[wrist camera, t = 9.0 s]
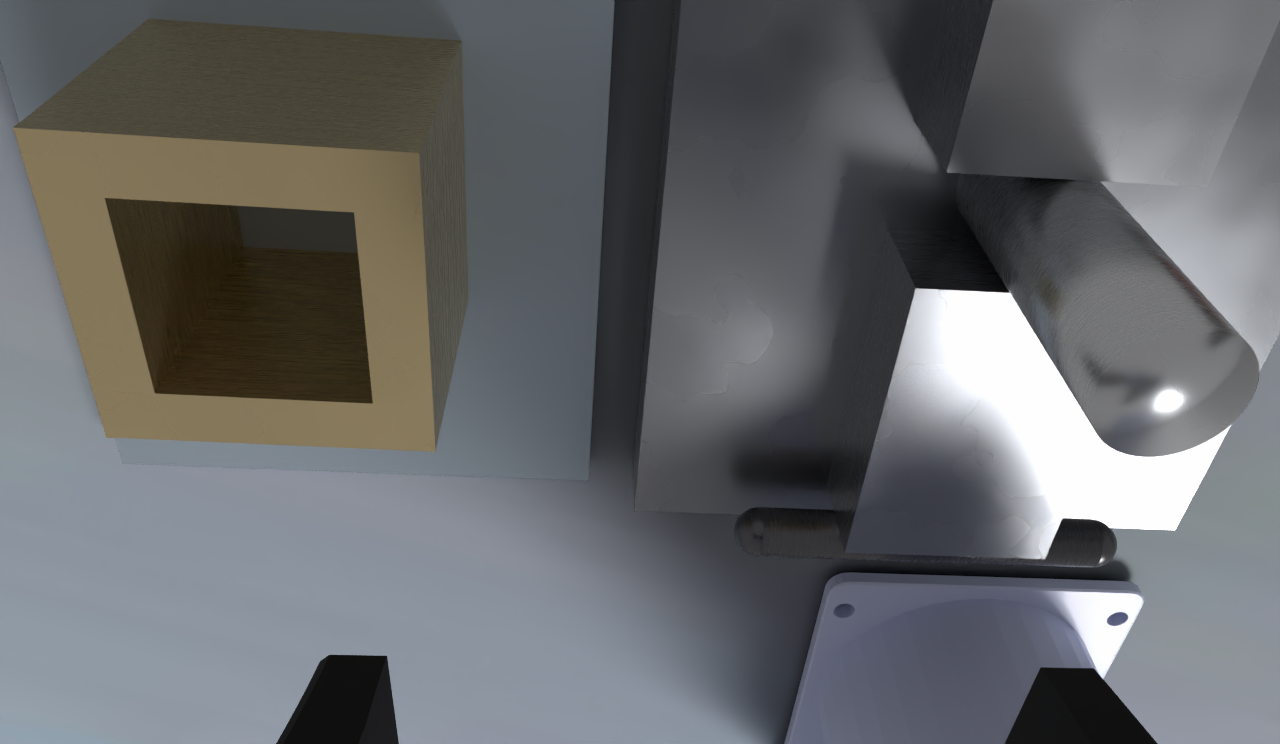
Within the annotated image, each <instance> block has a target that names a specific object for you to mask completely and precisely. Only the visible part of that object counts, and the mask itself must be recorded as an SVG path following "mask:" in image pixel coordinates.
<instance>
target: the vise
mask: <svg viewBox="0 0 1280 744" xmlns="http://www.w3.org/2000/svg"><path fill="white" fill-rule="evenodd" d="M1279 334H1280V0H674V7H673V18H672V29H671V41H670V52H669V63H668V75H667V86H666V97H665V109H664V120H663V132H662V143H661V154H660V166H659V177H658V188H657V200H656V211H655V223H654V234H653V245H652V257H651V268H650V279H649V291H648V302H647V313H646V325H645V336H644V348H643V359H642V370H641V382H640V393H639V404H638V416H637V427H636V438H635V450H634V461H633V477H634V511H647V512H675V513H703V514H732V515H740V516H739V518H738V519H737V521H736V524H735V528H734V535H735V539H736V541H737V543H738V545H739V546H740V548H741V549H742V550H743V551H745V552H746V553H748V554H750V555H753V556H759V557H789V558H820V559H850V560H881V561H911V562H942V563H973V564H1003V565H1034V566H1064V567H1099V566H1103V565H1104V564H1106V563H1108V562H1109V561H1110V560H1111V559H1112V558H1113V556H1114V555H1115V553H1116V549H1117V541H1116V537H1115V534H1114V533H1113V531H1112V530H1111V529H1110V528H1130V529H1158V530H1175V529H1176V527H1177V526H1178V524H1179V522H1180V520H1181V518H1182V516H1183V514H1184V512H1185V511H1186V509H1187V507H1188V505H1189V503H1190V501H1191V499H1192V497H1193V496H1194V494H1195V492H1196V490H1197V488H1198V486H1199V484H1200V482H1201V480H1202V479H1203V477H1204V475H1205V473H1206V471H1207V469H1208V467H1209V465H1210V464H1211V462H1212V460H1213V458H1214V456H1215V454H1216V452H1217V450H1218V448H1219V447H1220V445H1221V443H1222V441H1223V439H1224V437H1225V435H1226V433H1227V432H1228V430H1229V428H1230V426H1231V424H1232V423H1233V422H1234V421H1235V420H1236V419H1237V418H1238V417H1239V416H1240V415H1241V414H1242V413H1243V411H1244V410H1245V409H1246V407H1247V406H1248V404H1249V403H1250V401H1251V400H1252V398H1253V395H1254V393H1255V391H1256V388H1257V385H1258V381H1259V371H1260V369H1261V368H1262V366H1263V364H1264V362H1265V360H1266V358H1267V356H1268V354H1269V353H1270V351H1271V349H1272V347H1273V345H1274V343H1275V341H1276V339H1277V338H1278V336H1279Z"/></svg>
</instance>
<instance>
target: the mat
mask: <svg viewBox="0 0 1280 744" xmlns="http://www.w3.org/2000/svg"><path fill="white" fill-rule="evenodd" d="M614 2H615V0H0V61H1V64H2V68H3V71H4V74H5V78H6V81H7V84H8V87H9V91H10V94H11V97H12V101H13V104H14V107H15V110H16V114H17V117H18V120H19V123H20V122H21V121H22V120H23V119H25V118H26V117H27V116H28V115H30V114H31V113H32V112H33V111H35V110H36V109H37V108H38V107H39V106H41V105H42V104H43V103H44V102H46V101H47V100H48V99H49V98H51V97H52V96H53V95H54V94H56V93H57V92H58V91H59V90H60V89H62V88H63V87H64V86H65V85H67V84H68V83H69V82H70V81H72V80H73V79H74V78H75V77H77V76H78V75H79V74H80V73H82V72H83V71H84V70H85V69H86V68H88V67H89V66H90V65H91V64H93V63H94V62H95V61H96V60H98V59H99V58H100V57H101V56H103V55H104V54H105V53H106V52H108V51H109V50H110V49H111V48H112V47H114V46H115V45H116V44H117V43H119V42H120V41H121V40H122V39H124V38H125V37H126V36H127V35H129V34H130V33H131V32H132V31H134V30H135V29H136V28H137V27H138V26H140V25H141V24H142V23H143V22H145V21H146V20H147V19H160V20H174V21H189V22H203V23H217V24H232V25H246V26H260V27H275V28H289V29H303V30H317V31H332V32H346V33H360V34H375V35H389V36H403V37H418V38H432V39H446V40H461V41H462V67H463V105H464V144H465V183H466V221H467V260H468V299H469V300H468V305H467V309H466V314H465V319H464V323H463V328H462V332H461V337H460V342H459V346H458V351H457V355H456V360H455V365H454V369H453V374H452V378H451V383H450V388H449V392H448V397H447V401H446V406H445V411H444V415H443V420H442V424H441V429H440V433H439V438H438V443H437V447H436V452H429V451H406V450H383V449H360V448H337V447H314V446H291V445H269V444H246V443H223V442H200V441H177V440H154V439H131V438H115V439H116V442H117V446H118V449H119V452H120V456H121V459H122V462H123V464H141V465H168V466H195V467H222V468H249V469H276V470H303V471H330V472H357V473H384V474H412V475H439V476H466V477H493V478H520V479H547V480H574V481H589V463H590V444H591V426H592V407H593V389H594V371H595V352H596V334H597V315H598V297H599V278H600V260H601V242H602V223H603V205H604V186H605V168H606V149H607V131H608V113H609V94H610V76H611V57H612V39H613V20H614ZM237 208H238V214H239V219H240V225H241V231H242V237H243V243H244V247H258V248H276V249H293V250H311V251H329V252H347V253H358V248H357V238H356V227H355V217H354V212H337V211H320V210H303V209H286V208H269V207H252V206H237Z"/></svg>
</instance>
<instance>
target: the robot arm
mask: <svg viewBox="0 0 1280 744" xmlns="http://www.w3.org/2000/svg"><path fill="white" fill-rule="evenodd" d="M1143 603H1144V597H1143V595H1142V593H1141V591H1140V590H1139V588H1138V586H1137V585H1136V584H1134V583H1132V582H1127V581H1103V580H1072V579H1041V578H1009V577H978V576H947V575H915V574H884V573H853V572H847V573H840V574H838V575H835V576H833V577H832V578H831V579H830V580H828V582H827V584H826V586H825V589H824V593H823V597H822V601H821V605H820V609H819V612H818V616H817V620H816V624H815V628H814V632H813V636H812V639H811V643H810V647H809V651H808V655H807V659H806V662H805V666H804V670H803V674H802V678H801V682H800V685H799V689H798V693H797V697H796V701H795V705H794V709H793V712H792V716H791V720H790V724H789V728H788V732H787V735H786V739H785V743H784V744H1157V743H1156V741H1155V740H1154V739H1153V738H1152V737H1151V735H1150V734H1149V733H1148V732H1147V731H1146V730H1145V728H1144V727H1143V726H1142V725H1141V724H1140V722H1139V721H1138V720H1137V719H1136V718H1135V716H1134V715H1133V714H1132V713H1131V712H1130V710H1129V709H1128V708H1127V707H1126V706H1125V705H1124V703H1123V702H1122V701H1121V700H1120V699H1119V697H1118V696H1117V695H1116V694H1115V693H1114V692H1113V690H1112V689H1111V688H1110V687H1109V686H1108V684H1107V683H1106V682H1105V681H1104V680H1103V678H1104V676H1105V675H1106V673H1107V671H1108V669H1109V667H1110V665H1111V663H1112V662H1113V660H1114V658H1115V656H1116V654H1117V652H1118V650H1119V649H1120V647H1121V645H1122V643H1123V641H1124V639H1125V637H1126V636H1127V634H1128V632H1129V630H1130V628H1131V626H1132V624H1133V623H1134V621H1135V619H1136V617H1137V615H1138V613H1139V611H1140V610H1141V608H1142V606H1143ZM840 604H846V605H841V606H839V605H840ZM276 744H399V743H398V735H397V728H396V720H395V713H394V705H393V698H392V690H391V683H390V676H389V668H388V661H387V656H362V655H329V656H327V657H326V658H324V659H323V660H322V661H320V663H319V665H318V667H317V669H316V671H315V673H314V675H313V677H312V679H311V681H310V683H309V685H308V687H307V689H306V691H305V693H304V694H303V696H302V698H301V700H300V702H299V704H298V706H297V708H296V709H295V711H294V713H293V715H292V717H291V719H290V720H289V722H288V724H287V726H286V728H285V729H284V731H283V733H282V735H281V736H280V738H279V740H278V742H277V743H276Z"/></svg>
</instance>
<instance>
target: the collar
mask: <svg viewBox="0 0 1280 744" xmlns="http://www.w3.org/2000/svg"><path fill="white" fill-rule="evenodd" d="M13 129H14V132H15V135H16V139H17V142H18V145H19V149H20V152H21V155H22V159H23V162H24V165H25V169H26V172H27V175H28V179H29V182H30V185H31V189H32V192H33V195H34V199H35V202H36V205H37V208H38V212H39V215H40V218H41V222H42V225H43V228H44V232H45V235H46V238H47V242H48V245H49V248H50V252H51V255H52V258H53V262H54V265H55V268H56V272H57V275H58V278H59V281H60V285H61V288H62V291H63V295H64V298H65V301H66V305H67V308H68V311H69V315H70V318H71V321H72V325H73V328H74V331H75V335H76V338H77V341H78V345H79V348H80V351H81V355H82V358H83V361H84V364H85V368H86V371H87V374H88V378H89V381H90V384H91V388H92V391H93V394H94V398H95V401H96V404H97V408H98V411H99V414H100V418H101V421H102V424H103V428H104V431H105V434H106V437H108V438H131V439H154V440H177V441H200V442H223V443H246V444H269V445H291V446H314V447H337V448H360V449H383V450H406V451H429V452H436V447H437V443H438V438H439V433H440V429H441V424H442V420H443V415H444V411H445V406H446V401H447V397H448V392H449V388H450V383H451V378H452V374H453V369H454V365H455V360H456V355H457V351H458V346H459V342H460V337H461V332H462V328H463V323H464V319H465V314H466V309H467V305H468V300H469V299H468V260H467V221H466V183H465V144H464V105H463V67H462V41H461V40H446V39H432V38H418V37H403V36H389V35H375V34H360V33H346V32H332V31H317V30H303V29H289V28H275V27H260V26H246V25H232V24H217V23H203V22H189V21H174V20H160V19H147V20H146V21H145V22H143V23H142V24H141V25H140V26H138V27H137V28H136V29H135V30H134V31H132V32H131V33H130V34H129V35H127V36H126V37H125V38H124V39H122V40H121V41H120V42H119V43H117V44H116V45H115V46H114V47H112V48H111V49H110V50H109V51H108V52H106V53H105V54H104V55H103V56H101V57H100V58H99V59H98V60H96V61H95V62H94V63H93V64H91V65H90V66H89V67H88V68H86V69H85V70H84V71H83V72H82V73H80V74H79V75H78V76H77V77H75V78H74V79H73V80H72V81H70V82H69V83H68V84H67V85H65V86H64V87H63V88H62V89H60V90H59V91H58V92H57V93H56V94H54V95H53V96H52V97H51V98H49V99H48V100H47V101H46V102H44V103H43V104H42V105H41V106H39V107H38V108H37V109H36V110H35V111H33V112H32V113H31V114H30V115H28V116H27V117H26V118H25V119H23V120H22V121H21V122H20V123H18V124H17V125H16V126H15V127H13ZM237 206H252V207H269V208H286V209H303V210H320V211H337V212H354V217H355V227H356V238H357V248H358V253H347V252H329V251H311V250H293V249H276V248H258V247H244V243H243V237H242V231H241V225H240V219H239V214H238V208H237Z"/></svg>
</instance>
